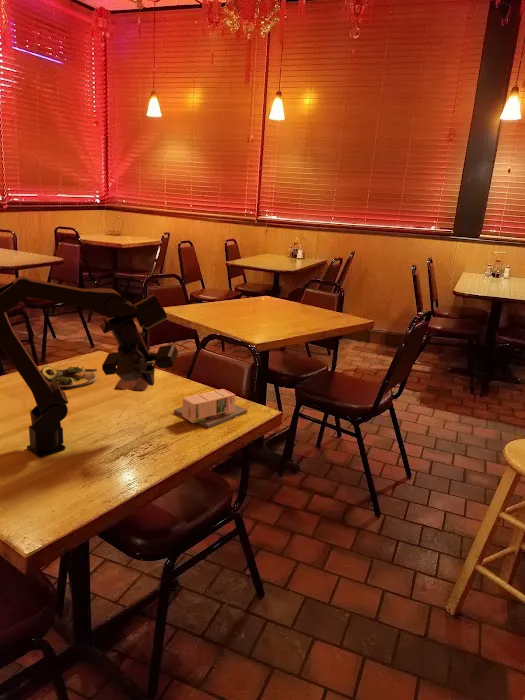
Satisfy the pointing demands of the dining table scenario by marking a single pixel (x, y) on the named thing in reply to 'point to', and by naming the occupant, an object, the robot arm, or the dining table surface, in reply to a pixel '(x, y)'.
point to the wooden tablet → (132, 385)
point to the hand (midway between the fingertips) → (152, 384)
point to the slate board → (217, 420)
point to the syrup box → (208, 405)
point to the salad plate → (68, 376)
